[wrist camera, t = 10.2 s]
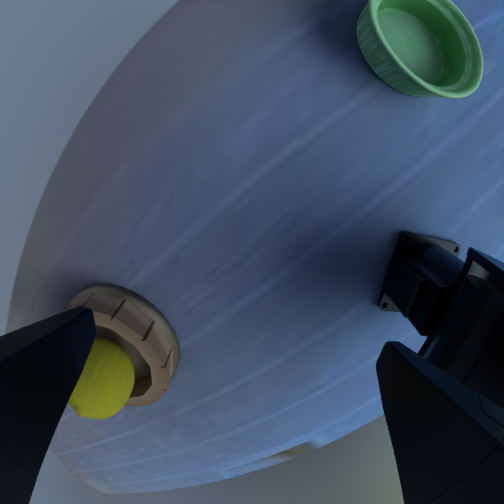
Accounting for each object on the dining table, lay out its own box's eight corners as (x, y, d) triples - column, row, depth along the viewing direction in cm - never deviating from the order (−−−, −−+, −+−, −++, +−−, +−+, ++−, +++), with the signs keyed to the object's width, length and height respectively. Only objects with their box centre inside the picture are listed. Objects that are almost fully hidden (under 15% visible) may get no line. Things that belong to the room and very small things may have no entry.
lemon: (139, 378, 23) (111, 446, 15) (87, 352, 22) (49, 412, 14) (152, 339, 21) (118, 415, 13) (93, 309, 20) (42, 372, 13)
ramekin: (332, -4, 13) (349, -33, 9) (430, 8, 12) (458, -9, 8) (365, 105, 16) (394, 95, 12) (459, 105, 15) (496, 103, 11)
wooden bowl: (180, 297, 21) (169, 322, 17) (180, 393, 24) (174, 419, 21) (60, 273, 20) (38, 291, 17) (81, 367, 24) (68, 388, 21)
